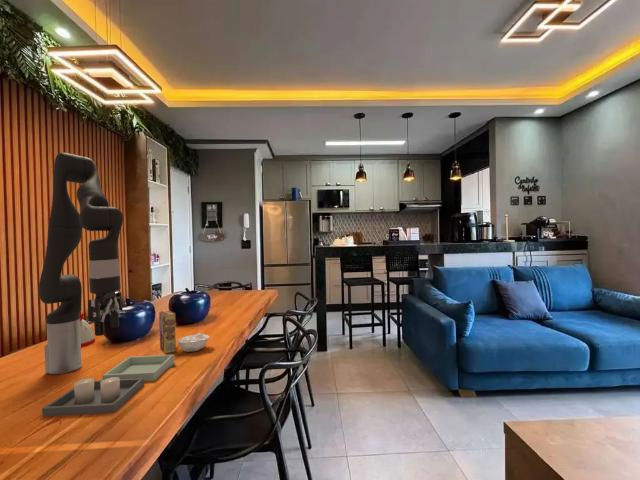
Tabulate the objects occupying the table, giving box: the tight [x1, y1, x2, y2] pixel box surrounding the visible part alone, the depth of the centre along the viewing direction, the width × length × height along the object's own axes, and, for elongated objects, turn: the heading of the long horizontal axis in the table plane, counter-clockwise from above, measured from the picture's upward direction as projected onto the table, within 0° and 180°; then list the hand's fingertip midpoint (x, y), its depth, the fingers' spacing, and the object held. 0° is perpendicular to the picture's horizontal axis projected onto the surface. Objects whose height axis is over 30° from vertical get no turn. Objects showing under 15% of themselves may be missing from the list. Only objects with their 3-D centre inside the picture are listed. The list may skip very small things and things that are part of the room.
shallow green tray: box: [101, 354, 175, 383], centre depth 109 cm, size 16×16×4 cm
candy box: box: [158, 310, 177, 354], centre depth 133 cm, size 9×4×15 cm, turn 39°
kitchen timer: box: [80, 311, 96, 348], centre depth 144 cm, size 14×14×15 cm
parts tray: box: [41, 378, 145, 417], centre depth 91 cm, size 18×16×3 cm
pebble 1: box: [73, 377, 95, 404], centre depth 91 cm, size 4×4×5 cm
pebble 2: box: [100, 377, 120, 403], centre depth 91 cm, size 4×4×5 cm
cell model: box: [177, 332, 210, 353], centre depth 131 cm, size 10×12×7 cm
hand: (107, 331), depth 95 cm, fingers open, 8 cm apart
